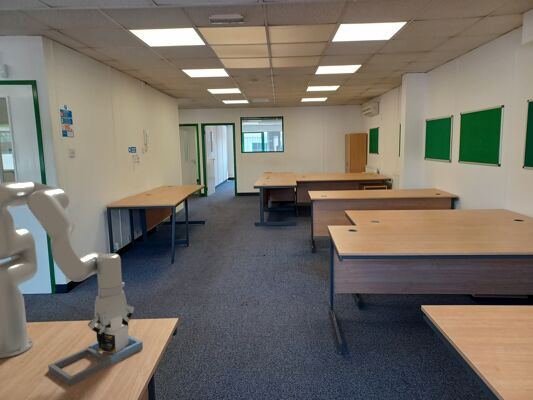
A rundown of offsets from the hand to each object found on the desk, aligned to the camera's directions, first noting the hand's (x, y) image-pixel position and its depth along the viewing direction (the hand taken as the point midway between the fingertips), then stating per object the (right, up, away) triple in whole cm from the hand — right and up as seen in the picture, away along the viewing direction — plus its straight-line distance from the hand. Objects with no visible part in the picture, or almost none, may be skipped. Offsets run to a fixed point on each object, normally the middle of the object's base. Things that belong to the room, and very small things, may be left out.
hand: (113, 337), depth 127 cm
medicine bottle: (0, -4, 0) cm, 4 cm away
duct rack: (-3, -6, -4) cm, 8 cm away
